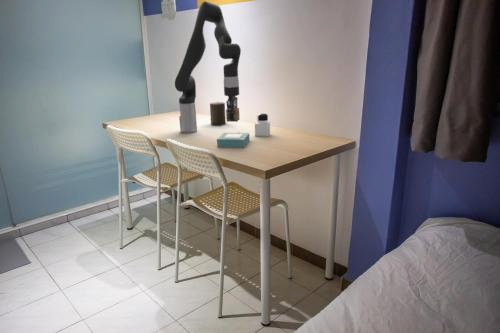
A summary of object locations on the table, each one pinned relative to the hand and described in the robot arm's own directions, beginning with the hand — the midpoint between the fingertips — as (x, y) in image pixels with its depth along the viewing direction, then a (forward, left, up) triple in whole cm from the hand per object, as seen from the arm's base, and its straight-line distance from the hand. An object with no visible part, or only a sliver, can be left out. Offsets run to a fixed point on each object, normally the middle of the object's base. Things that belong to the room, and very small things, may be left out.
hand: (233, 119), depth 191 cm
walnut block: (0, 0, -1) cm, 1 cm away
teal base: (0, 0, -13) cm, 13 cm away
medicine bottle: (+12, +20, -13) cm, 27 cm away
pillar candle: (-22, +48, -13) cm, 54 cm away
